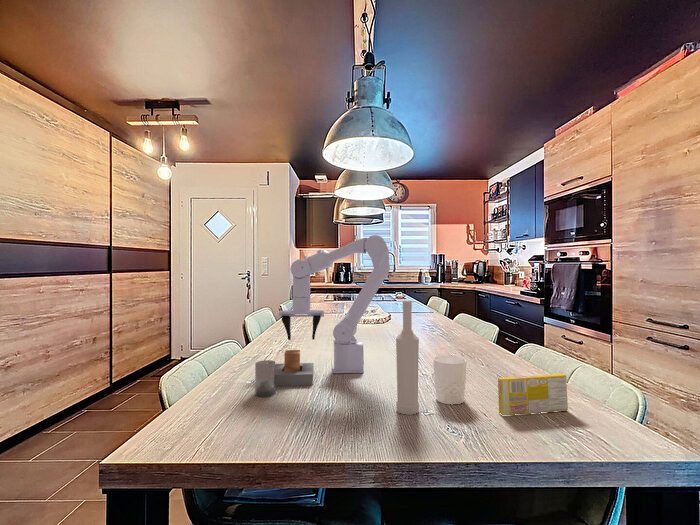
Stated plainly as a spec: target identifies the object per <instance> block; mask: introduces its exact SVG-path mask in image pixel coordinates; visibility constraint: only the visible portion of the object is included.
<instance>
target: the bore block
mask: <svg viewBox="0 0 700 525" xmlns="http://www.w3.org/2000/svg"><path fill="white" fill-rule="evenodd" d="M313 382H314V363H313V362H300V371H288V372H284V363H275V387H284V386H288V387H289V386H296V387H297V386H313V385H314V383H313Z"/></svg>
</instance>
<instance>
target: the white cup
mask: <svg viewBox="0 0 700 525" xmlns="http://www.w3.org/2000/svg"><path fill="white" fill-rule="evenodd" d="M432 360H433V377H434V388H435V399H436V401H437V402H438V403H441V404H444V405H450V404H451V405H453V404H458V405H461V403H462V404H463V403H465V394H466V393H465V391H466V383H467V382H466V381H467V359H466V358H464V357H461V356H457V355H438V356H434V357H433V359H432ZM451 405H450V406H451Z"/></svg>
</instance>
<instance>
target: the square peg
mask: <svg viewBox="0 0 700 525" xmlns="http://www.w3.org/2000/svg"><path fill="white" fill-rule="evenodd" d="M283 359H284V360H283V361H284V362H283V364H284V372H288V371H300V363H301V351H300V349H286V350H285V351H284V358H283Z"/></svg>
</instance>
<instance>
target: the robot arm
mask: <svg viewBox="0 0 700 525" xmlns="http://www.w3.org/2000/svg"><path fill="white" fill-rule="evenodd" d="M356 253H357V254H364V255H365V254H366V255H367V254H368V256H369V257H370V259H371V260H370V261H371V263H372V267H373V269H372V271H371V273H370V274H369V276H368V278H367V280H366V281H365V282H364V285H363V286H362V288H361V290H360V291H359V293H358V295H357V296H356V297H355V299H354V301H353V303H352V305H350V307H349V310H348V311H347V312H346V314H345V316H344V317H343V319H342V320H340V321H339V322H338V324H336V325H335V327H334V328H333V332H332V336H333V339H334V340H333V364H332V373H333V374H361V373H362V374H363V373H364V372H365V370H364V367H365V360H364V359H365V357H364V344H363V341H357V340H358V339H356V337H355V335H356V333H357V329H358V328H357V327H358V324H359V322H360V321H361V319H362V317H363V315H364V313H365V312H366V310H367V308H368V306H369V305H370V304H371V302H372V300H373V298H374V297H375V295H376V294H377V292H378V291H379V289H380V287H381V286H382V283H383V282H384V281H385V279H386V277H387V275H388V274H389V272H390V270H391V268H390V267H391V266H390V250H389V247H388V245H387V243H386V241H385V240H384V238H383V237H382V236H380V235H378V234H372V235H370V236H369V237H363V238H360V239H356V240H354V241H352V242H349V243H348V244H346V245H343V246H341V247H339V248H338V247H337V249H333V250H332V251H327V250H326V249H323V250H322V249H319V250H317V251H316V253H314V254H311V255H309V256H307V255H305V256H303V259H300V258H299V259H296V260H295V261H293V262H292V263H291V265H290V273H291V275H292V309H291V310H290V309H286V310H285V309H284V310H278V311H277V312H278V314H277V315H278V316H277V317H278V318H281V322H282V323H283V326H284V329H285V331H286V335H287V339H288V341H291V339H292V334H291V332H292V331H291V318H301V317H303V318H304V317H309V318H311V317H312V335H311V338H312V339H311V340H315V336H316V332H317V329H318V326H319V324H320V321H321V318H323V317H325V310H324V309H321V310H320V309H311V275H313V274H316V273H319V272H321V271H324V270H326V269H329V268H331V267H332V266H333V263H334V262H335V261H338V260H340V259H343V258H346V257H348V256H352V255H355V254H356Z"/></svg>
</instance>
